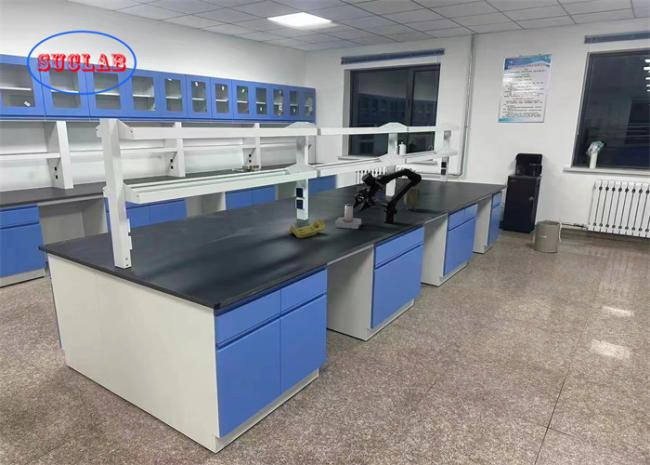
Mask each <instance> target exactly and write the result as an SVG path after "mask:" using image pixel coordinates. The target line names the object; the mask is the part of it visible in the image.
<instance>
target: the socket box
mask: <svg viewBox="0 0 650 465" xmlns="http://www.w3.org/2000/svg"><path fill="white" fill-rule="evenodd" d="M344 219H345V216H341V217H340V216H339V217H338V218H337V219H336V220H335V221H334V228H337V229H350V228H351V230H359V228H360V227H361V225H362V218H359V217H358V218H355V217H353V221H352V222H350V221H349V220H345V221H344Z"/></svg>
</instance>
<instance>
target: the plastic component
mask: <svg viewBox="0 0 650 465" xmlns="http://www.w3.org/2000/svg"><path fill="white" fill-rule="evenodd" d="M325 228H326V224H325V222H324V221H323V220H322V219H318V220H317V221H314V222H311V223H310V224H309V225H307V226H303V227H298V228H295V226H293V225H291V226H290V227H289V230H288V234H290V235H294V236H296V238H299V239H302V238H307V237H311V236H315V235H317V234H318V233H319V232H322V231H324V229H325Z"/></svg>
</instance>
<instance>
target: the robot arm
mask: <svg viewBox="0 0 650 465" xmlns="http://www.w3.org/2000/svg"><path fill="white" fill-rule="evenodd" d="M402 177H406V182H405V183H404V184H402V186H401V187H400V188H399V189H398V190H397V191H396V192H395V193H394V194H393V195H392V196H391V197H386V198H385V199H384V200H382V203H381V209H382V211H383V213H385V218H384V222H383V223H385V224H395V223H396V222H395V221H396V220H395V215H397V214H398V209H397V208H396V207H397V204H398V202H399V201H400V200H401V199H402V198H404V195H405V194H406V193H407V192H408V190H409V189H410V188H411V187H413V186H415V185H416V186H418V184H420V183H421V182H422V179H423V176H422V175H421V174H420V173H416V172H414V171H413V170H411V169H410V168H402V169H400V170H396V171H394V172H390V173H387V174H385V173H382V174H378V175H377V176H373V174H372V173H371V172H368V173H366V174H364V175H362V177H361V181H362V182H363V183H364V184H365V185H366V187H368V188H366V187H359V186H358V187H357V188H356V190H355V194H353V199H354V202H353V204H352V206H353V210H354V209H355V208H357V207H359V205H361V204H362V205H361V206H360V208H359V209H358V212H360V213H361V212H363V211H365V210H367V209H369V208H374V207H375V206H376V202H375V200H374V199H373V198H375V197H376V194H377V193H378V192H379V191H380V192H381V191H382V192H383V191H384V187H383V186H386V185H387V184H389V183H391V181H393V180H396V179H400V178H402Z"/></svg>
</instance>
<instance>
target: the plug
mask: <svg viewBox="0 0 650 465" xmlns="http://www.w3.org/2000/svg"><path fill="white" fill-rule="evenodd" d="M353 215H354V209H353V204H352V203H347V204H346V205H344V218H345V219H344V221H345V220H349V221H350V222H352V221H353V218H354V216H353Z"/></svg>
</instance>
